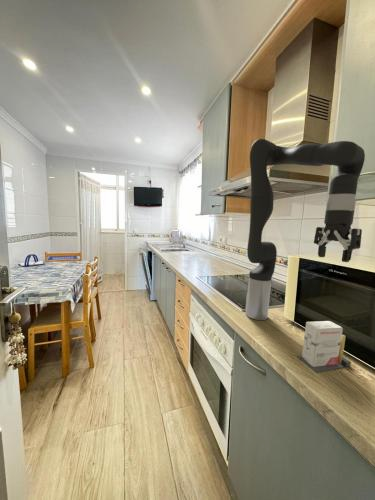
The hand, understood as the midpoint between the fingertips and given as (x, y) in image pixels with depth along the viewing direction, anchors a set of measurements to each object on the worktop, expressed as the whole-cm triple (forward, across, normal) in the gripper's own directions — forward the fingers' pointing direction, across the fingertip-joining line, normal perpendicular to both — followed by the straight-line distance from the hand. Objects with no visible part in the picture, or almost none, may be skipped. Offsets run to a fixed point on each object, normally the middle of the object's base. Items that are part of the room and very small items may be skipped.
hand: (332, 259), depth 69 cm
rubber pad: (+30, +8, -9) cm, 32 cm away
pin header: (+30, +8, -2) cm, 31 cm away
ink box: (+30, +8, -9) cm, 32 cm away
